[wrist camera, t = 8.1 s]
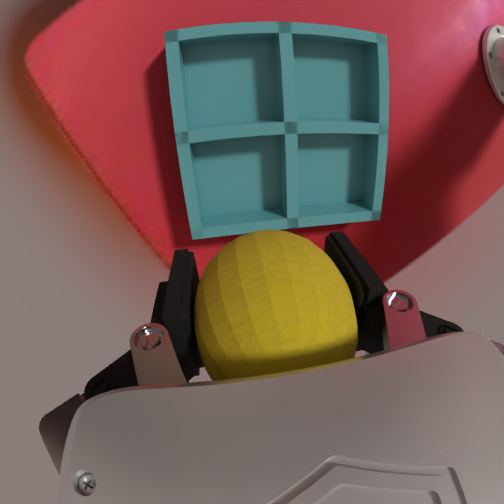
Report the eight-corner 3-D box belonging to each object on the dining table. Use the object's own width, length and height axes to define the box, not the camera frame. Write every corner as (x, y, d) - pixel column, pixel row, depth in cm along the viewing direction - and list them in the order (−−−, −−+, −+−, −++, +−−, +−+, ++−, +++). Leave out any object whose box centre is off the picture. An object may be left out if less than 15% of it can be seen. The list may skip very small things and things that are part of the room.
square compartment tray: (367, 39, 19) (386, 35, 16) (364, 205, 29) (379, 219, 26) (171, 39, 18) (164, 32, 15) (195, 222, 28) (192, 239, 25)
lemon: (274, 312, 15) (307, 451, 9) (179, 275, 13) (161, 435, 7) (338, 233, 13) (427, 369, 6) (237, 174, 11) (271, 322, 4)
